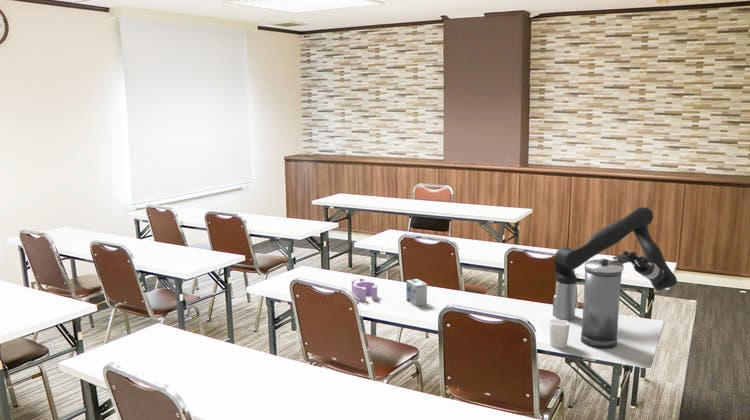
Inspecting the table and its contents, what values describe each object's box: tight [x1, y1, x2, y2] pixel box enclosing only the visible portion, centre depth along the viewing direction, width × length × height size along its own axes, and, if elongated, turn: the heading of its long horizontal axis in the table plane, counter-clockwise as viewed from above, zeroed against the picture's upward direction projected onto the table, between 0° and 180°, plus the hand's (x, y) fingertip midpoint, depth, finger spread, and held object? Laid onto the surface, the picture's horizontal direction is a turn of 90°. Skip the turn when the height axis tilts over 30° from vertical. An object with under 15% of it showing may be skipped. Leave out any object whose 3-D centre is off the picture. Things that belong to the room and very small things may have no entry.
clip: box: [351, 277, 378, 302], centre depth 316 cm, size 20×12×7 cm, turn 21°
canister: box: [580, 267, 623, 350], centre depth 250 cm, size 14×14×32 cm
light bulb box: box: [405, 278, 428, 306], centre depth 305 cm, size 11×7×11 cm, turn 25°
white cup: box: [549, 318, 570, 349], centre depth 249 cm, size 8×8×10 cm
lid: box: [584, 251, 638, 273], centre depth 250 cm, size 15×28×4 cm, turn 123°
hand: (627, 253), depth 255 cm, fingers closed on lid, 2 cm apart
